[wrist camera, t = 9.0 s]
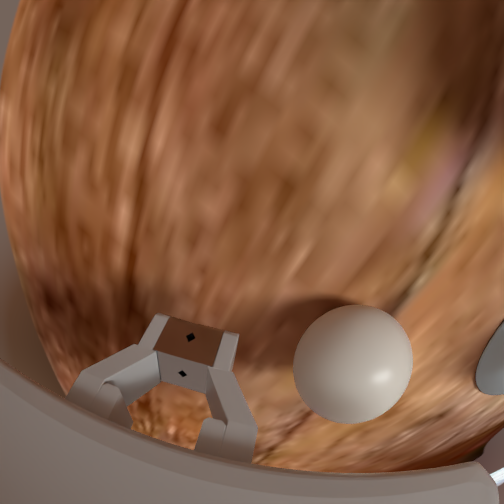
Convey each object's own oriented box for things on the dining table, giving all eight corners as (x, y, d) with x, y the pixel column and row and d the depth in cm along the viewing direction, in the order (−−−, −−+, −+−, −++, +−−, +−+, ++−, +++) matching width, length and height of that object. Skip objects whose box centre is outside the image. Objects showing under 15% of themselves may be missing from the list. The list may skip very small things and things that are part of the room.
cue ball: (446, 401, 8) (424, 296, 13) (324, 388, 8) (325, 264, 12) (369, 438, 12) (367, 352, 16) (269, 427, 12) (282, 332, 16)
